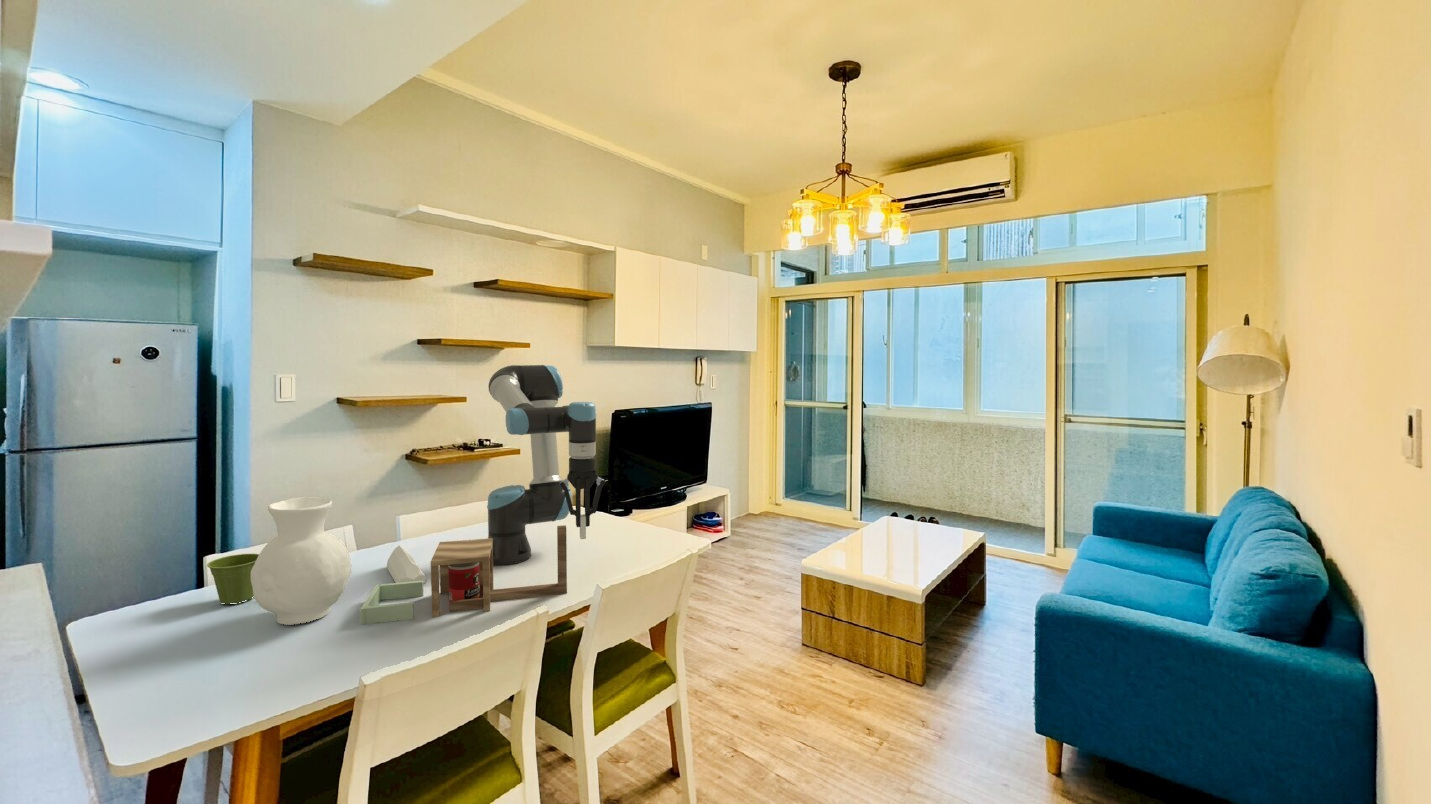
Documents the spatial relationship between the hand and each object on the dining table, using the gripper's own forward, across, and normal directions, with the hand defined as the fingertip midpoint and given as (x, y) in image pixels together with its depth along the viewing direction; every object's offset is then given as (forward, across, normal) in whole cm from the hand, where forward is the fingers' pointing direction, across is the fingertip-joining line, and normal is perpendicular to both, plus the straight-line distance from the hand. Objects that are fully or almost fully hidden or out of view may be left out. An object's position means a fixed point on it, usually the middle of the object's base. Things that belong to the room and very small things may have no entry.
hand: (582, 537), depth 174 cm
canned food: (+16, -32, 0) cm, 36 cm away
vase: (+16, -70, 0) cm, 72 cm away
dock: (+15, -49, 0) cm, 51 cm away
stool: (+15, -32, 0) cm, 35 cm away
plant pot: (+16, -91, +17) cm, 94 cm away
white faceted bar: (+16, -51, +25) cm, 59 cm away
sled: (+15, -20, 0) cm, 25 cm away
